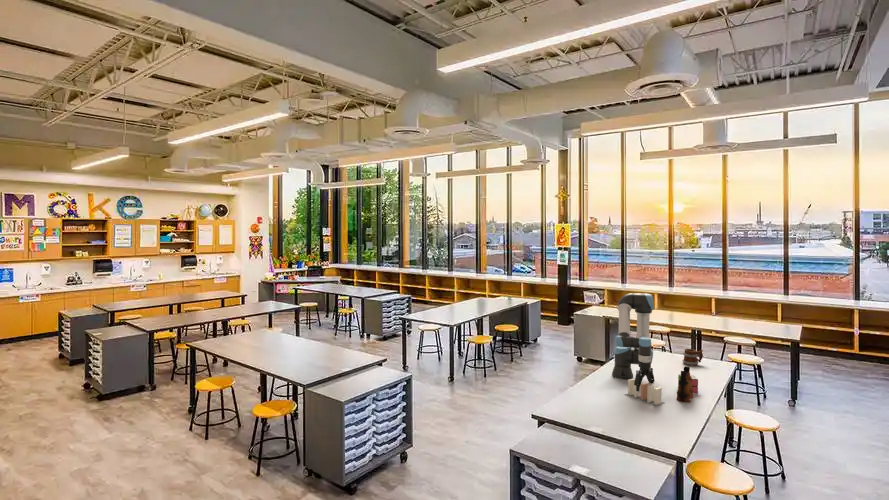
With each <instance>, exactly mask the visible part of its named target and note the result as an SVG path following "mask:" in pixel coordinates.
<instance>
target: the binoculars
mask: <svg viewBox="0 0 889 500" xmlns="http://www.w3.org/2000/svg"><path fill="white" fill-rule="evenodd" d="M690 367H691V366H687V365H686V366H684V367H683V370H680V374H681V376H680V379H679V380H677V381H678V382H679V383H677V391H676V394H677V395H676V398H675V399H676V401H677V402H679V403H685V404H686V403H688V404H689V403H691V399H693V398H694V393H693V392H692V391H693V389H692V377H691V376H690V375H691V372H690Z"/></svg>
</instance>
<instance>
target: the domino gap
mask: <svg viewBox="0 0 889 500" xmlns="http://www.w3.org/2000/svg"><path fill="white" fill-rule="evenodd" d="M647 387H648V382H644V383H641V399H642V400H644V399H647Z"/></svg>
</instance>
